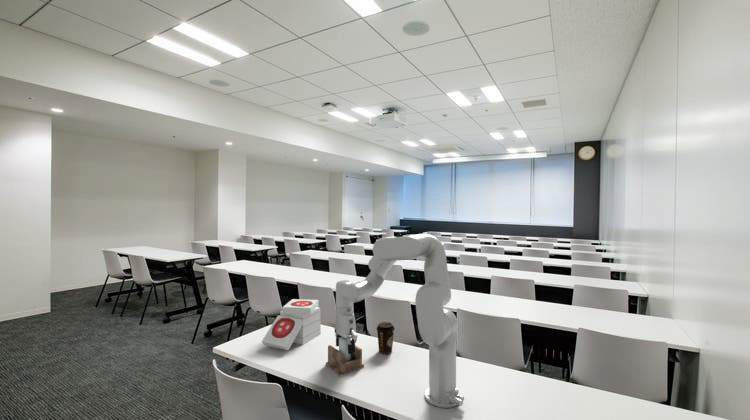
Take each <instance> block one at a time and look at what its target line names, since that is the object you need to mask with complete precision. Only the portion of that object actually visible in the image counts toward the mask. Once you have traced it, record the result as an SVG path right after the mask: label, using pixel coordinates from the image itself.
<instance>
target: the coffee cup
mask: <svg viewBox="0 0 750 420" xmlns="http://www.w3.org/2000/svg"><path fill="white" fill-rule="evenodd" d="M395 329H396V328H395V326H394V325H393V323H391V322H385V321H383V322H380V323H378V325H377V326H376V331H377V344H378V353H379V354H382V355H391V353H393V346H394V345H393V344H394V335H395V333H394V331H395Z"/></svg>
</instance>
